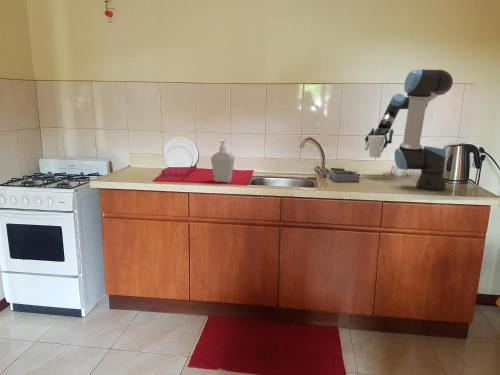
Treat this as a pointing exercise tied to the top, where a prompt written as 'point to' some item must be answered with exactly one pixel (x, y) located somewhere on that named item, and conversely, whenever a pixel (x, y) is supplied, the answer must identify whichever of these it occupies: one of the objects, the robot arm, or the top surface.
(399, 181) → the top surface
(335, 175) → the tray
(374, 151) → the foam cup
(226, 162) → the soap bottle
